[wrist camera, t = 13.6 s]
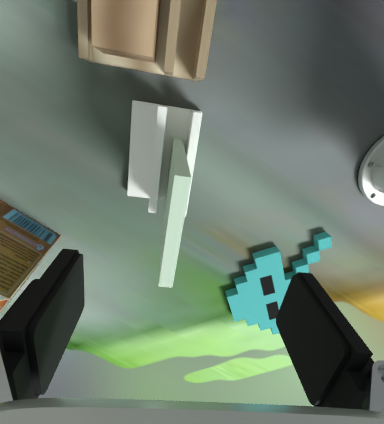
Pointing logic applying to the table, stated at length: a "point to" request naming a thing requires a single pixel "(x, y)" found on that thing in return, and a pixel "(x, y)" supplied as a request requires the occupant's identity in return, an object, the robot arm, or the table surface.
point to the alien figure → (269, 284)
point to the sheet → (174, 212)
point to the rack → (162, 39)
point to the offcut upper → (125, 26)
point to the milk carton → (20, 249)
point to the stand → (158, 147)
